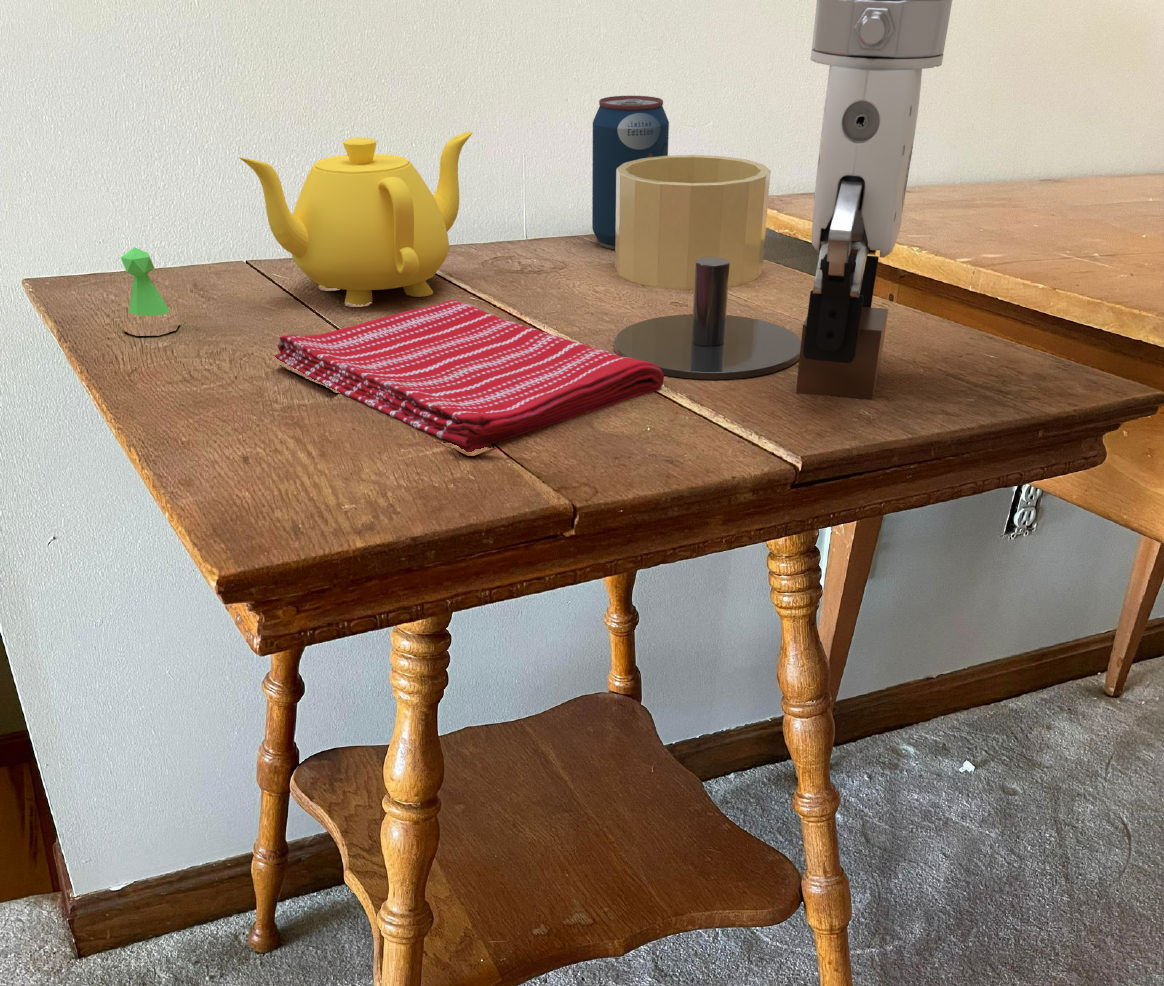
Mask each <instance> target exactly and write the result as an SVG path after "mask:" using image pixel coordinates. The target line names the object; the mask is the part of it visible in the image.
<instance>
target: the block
mask: <svg viewBox="0 0 1164 986" xmlns="http://www.w3.org/2000/svg"><path fill="white" fill-rule="evenodd" d="M888 315H889V309H888V308H883V307H871V308H870V307H862V313H861V320H860V327H859V333H858V340H857V347H856V354H855V357H854V360H853V361H852V362H850V363H841V362H831V361H821V360H812V359H806V358H805V357H804V355H803V348H804V340H805V332H806V324H807V316H808V314H807V316H806V318H805V320H804V322H803V324H802V329H801V338H800V340H801V347H800V357H799V360H798V366H797V367H798V368H797V377H796V388H795V393H796V394H802V395H813V396H824V397H834V398H844V399H853V400H854V399H855V400H866V401H872V400H873V397H874V394H875V390H876V387H877V383H878V380H879V377H880V370H881V362H882V358H883V357H882V356H883V350H884V342H885V336H886V328H887V322H888Z"/></svg>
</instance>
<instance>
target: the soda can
mask: <svg viewBox="0 0 1164 986" xmlns="http://www.w3.org/2000/svg"><path fill="white" fill-rule="evenodd" d="M598 101H599V102H598V104H599V107H598V108H597V111H596V113H595V115H594V118H593V120H592V175H591V176H592V179H591V181H592V185H591V186H592V187H591V189H592V191H591V193H592V194H591V195H592V196H591V197H592V200H591V202H592V204H591V205H592V209H591V210H592V214H591V215H592V216H591V220H592V221H591V223H592V226H591V229H592V232H593V234H594V236H595V238H596V239H597V241H598V244H599V245H600V246H602V247H603V248H606V249H609V250H610V249H611V250H615V242H616V169H617V168H618V167H619V166H621V165H622V164H623V163H626V162H630V161H634V160H638V159H641V158H650V157H659V156H669V137H670V136H669V135H670V133H669V131H670V122H669V119H668V116H667V114H666V110H665V109H664V100H663V99H662V98H659V97H656V96H649V95H615V96H614V95H613V96H607V97H603V98H601V99H599V100H598Z"/></svg>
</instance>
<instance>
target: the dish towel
mask: <svg viewBox="0 0 1164 986" xmlns="http://www.w3.org/2000/svg"><path fill="white" fill-rule="evenodd" d="M277 348H278V351H279V352H280V353H277V354H274V358H275V357H276V358H277V359H279V360H280V361H282V362H284V363H285V364H287V365H288V366H291V367H293V368H294V369H297V370H298V371H300V372H302V373H303V374H305V375H306V376H307V377H311V378H312V379H314V380H317V381H318V382H321V383H322V384H324V385H325V386H328V387H329V388H332V389H334V390H337V391H339V392H340V394H341V393H343V394H342V395H344V394H345V395H344V396H345V397H347V396H349V397H351V398H350V399H353V400H356V401H358V402H360V403H362V404H364V405H366V406H367V405H368V406H367V407H369V406H370V407H369V408H371V407H372V408H371V409H374V410H377V411H378V412H381V413H383V414H386V415H387V414H388V415H387V416H389V415H390V416H389V417H391V418H393V417H394V418H393V419H397V420H399V421H401V422H403V423H404V422H405V423H404V424H406V423H407V424H406V425H408V426H410V427H412V428H414V429H416V430H420V431H423V432H425V433H428V434H430V435H433V436H435V437H437V438H438V439H441V440H445V441H446V442H450V443H452V444H454V445H457V446H459V447H460V448H461V449H464V450H465V451H466V452H472V451H474V450H475V449H481V448H484V447H488V446H489V445H491V444H494V443H497V442H501V441H505V440H508V439H510V438H514V437H517V436H519V435H523V434H525V433H528V432H531V431H532V432H533V431H535V430H538V429H541V428H544V427H547V426H551V425H554V424H557V423H560V422H563V421H567V420H569V419H572V418H575V417H578V416H582V415H584V414H585V415H586V414H589V413H591V412H594V411H598V410H601V409H603V408H606V407H609V406H612V405H615V404H619V403H622V402H624V401H628V400H631V399H635V398H637V397H641V396H644V395H647V394H650V393H655V392H659V391H660V390H661V388H662V386H663V384H664V380H665V375H664V374H663V372H662V370H661V369H660V367H659V366H657V365H656V364H654V363H651V362H647V361H642V360H637V359H633V358H629V357H621V356H619V355H617V354H616V353H612V352H610V351H607V350H605V349H601V348H595V347H592V346H588V345H587V344H584V343H582V342H576V341H573V340H570V339H568V338H564V337H562V336H560V335H556V334H552V333H549V332H545V331H542V330H539V329H537V328H531V327H528V326H526V325H522V324H521V323H518V322H515V321H511V320H507V319H505V318H502V317H499V316H497V315H495V314H492V313H488V312H487V311H484V310H482V309H481V308H478V307H476V306H475V305H472V304H468V303H465V302H462V301H458V300H455V299H450V300H445V301H443V302H440V303H437V304H433V305H430V306H425V307H421V308H415V309H411V310H406V311H402V312H399V313H394V314H390V315H387V316H384V317H380V318H375V319H373V320H369V321H366V322H362V323H359V324H355V325H352V326H347V327H343V328H339V329H336V330H333V331H328V332H324V333H320V334H319V333H318V334H308V335H307V334H306V335H305V334H304V335H303V334H302V335H301V334H300V335H297V334H285V335H282V336H279V338H278V341H277ZM349 397H348V398H349Z"/></svg>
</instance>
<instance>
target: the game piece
mask: <svg viewBox="0 0 1164 986" xmlns="http://www.w3.org/2000/svg"><path fill="white" fill-rule="evenodd" d="M120 260H121V261H122V265H123V267H124V269H125V271H126V274H128V275H132V276H133V282H132V287H131V288H132V289H131V294H130V301H129V302H130V303H129V309H128V313H129V312H130V313H134V314H135V315H141V316H158V315H162V314H163V315H164V314H166V313H168V311H169V310H170V308H169V307H168V305H167V303H166V302H165V300H164V299H163V297H162V296H161V294H160V292H159V291H158V289H157V287H156V286H155V284H154V282H153V281H152V280H151V278H150V276H149V273H151V272H152V271H153V270H154V269H155V266H154V263H153V260H152V258H151V256H150V254H149V252H148V251H145V250H143V249H140V248H137V247H133V248H131V249H130V250H128V251H127V252H126V253H125V254H123V255H121V256H120Z"/></svg>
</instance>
